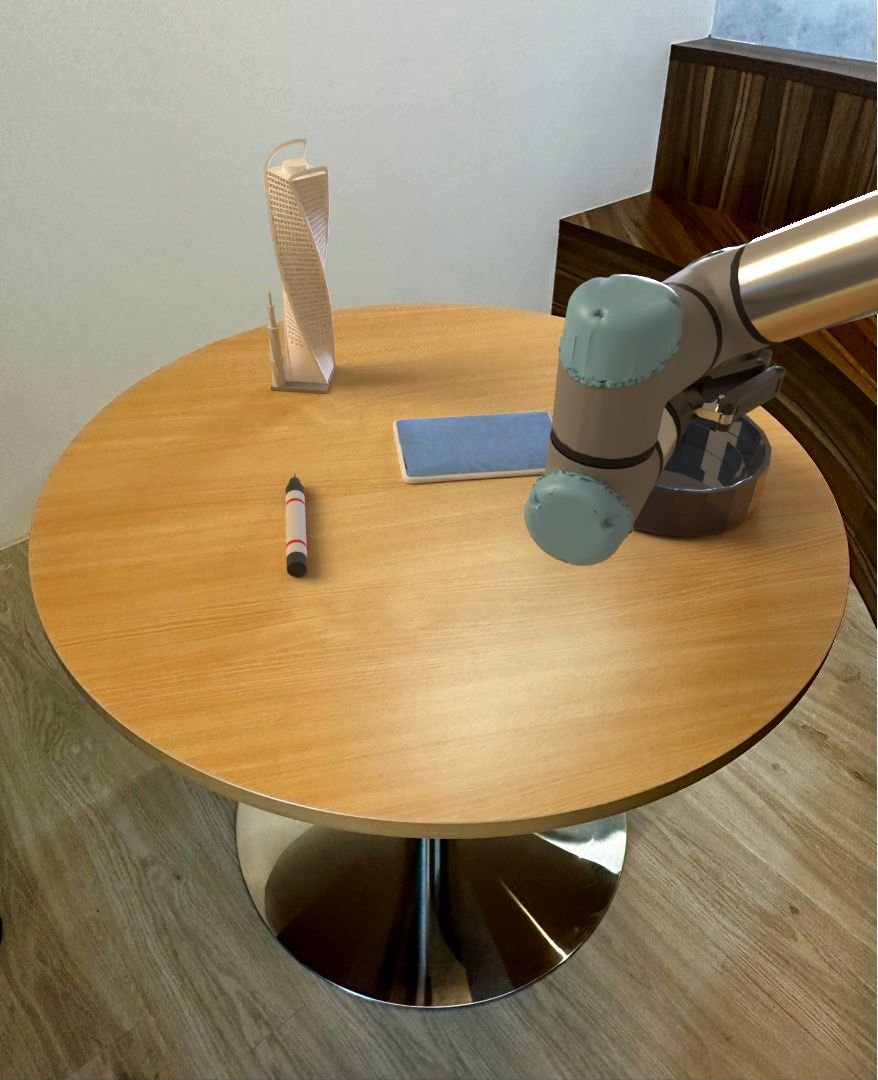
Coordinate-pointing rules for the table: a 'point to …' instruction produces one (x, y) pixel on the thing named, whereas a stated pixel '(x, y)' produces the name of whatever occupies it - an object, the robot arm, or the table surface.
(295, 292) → the skyscraper
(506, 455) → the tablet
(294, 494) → the marker
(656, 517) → the dark grey dish
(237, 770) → the table surface
